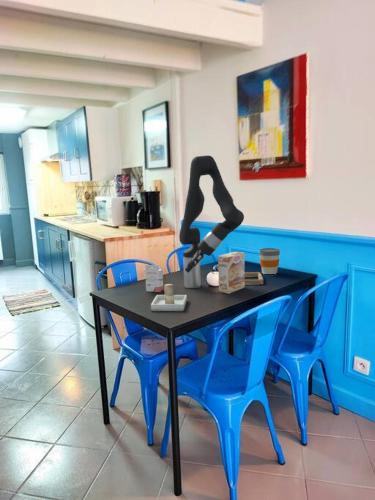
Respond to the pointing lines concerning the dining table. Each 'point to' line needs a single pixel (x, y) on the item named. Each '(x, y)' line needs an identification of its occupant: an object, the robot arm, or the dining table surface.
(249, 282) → the frame
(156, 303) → the tray
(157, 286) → the ink cartridge box
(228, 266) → the coffeecake box
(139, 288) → the dining table surface
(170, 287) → the gauge plug
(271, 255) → the reusable coffee cup
